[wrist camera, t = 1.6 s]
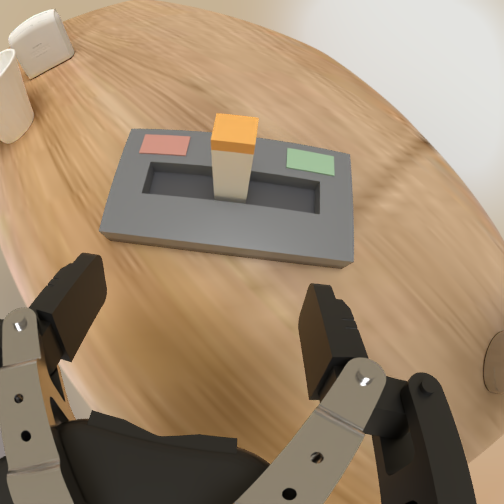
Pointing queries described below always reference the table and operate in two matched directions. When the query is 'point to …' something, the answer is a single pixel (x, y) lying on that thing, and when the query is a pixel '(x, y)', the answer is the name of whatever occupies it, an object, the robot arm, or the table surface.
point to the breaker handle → (232, 156)
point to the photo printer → (41, 43)
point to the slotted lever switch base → (228, 213)
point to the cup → (13, 99)
